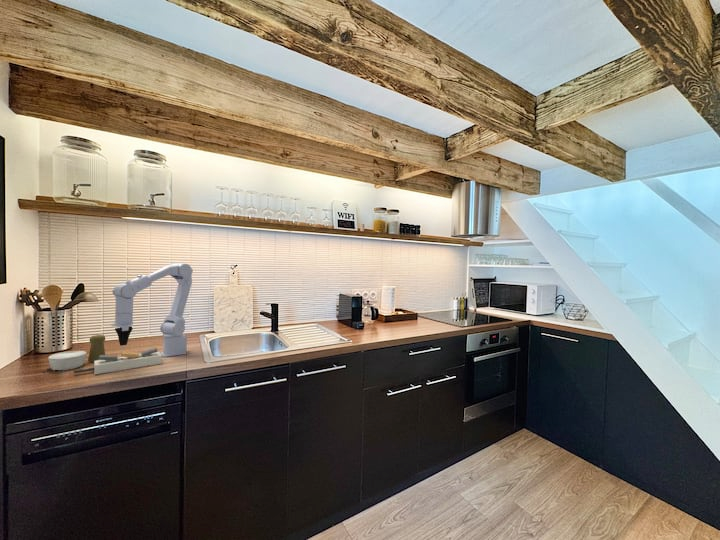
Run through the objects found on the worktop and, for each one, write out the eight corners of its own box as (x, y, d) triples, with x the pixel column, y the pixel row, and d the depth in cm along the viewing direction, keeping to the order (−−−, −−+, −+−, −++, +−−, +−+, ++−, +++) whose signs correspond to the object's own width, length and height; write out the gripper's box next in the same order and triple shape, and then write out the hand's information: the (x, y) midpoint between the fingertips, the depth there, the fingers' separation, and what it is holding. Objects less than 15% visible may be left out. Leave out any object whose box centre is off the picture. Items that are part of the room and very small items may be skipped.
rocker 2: (156, 350, 132) (156, 347, 131) (157, 351, 129) (157, 349, 129) (141, 354, 128) (140, 352, 128) (142, 356, 126) (141, 354, 125)
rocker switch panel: (159, 359, 134) (159, 350, 134) (161, 363, 129) (162, 353, 129) (74, 372, 115) (74, 361, 115) (73, 377, 110) (73, 366, 110)
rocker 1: (116, 358, 122) (117, 355, 122) (116, 360, 120) (117, 357, 120) (98, 358, 118) (99, 355, 119) (99, 360, 116) (100, 356, 116)
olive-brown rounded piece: (104, 357, 134) (105, 333, 134) (107, 360, 130) (108, 335, 130) (86, 360, 129) (87, 335, 129) (88, 363, 125) (89, 337, 125)
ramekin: (83, 360, 129) (84, 348, 128) (88, 367, 121) (88, 354, 121) (46, 366, 120) (46, 354, 120) (49, 374, 113) (49, 360, 113)
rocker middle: (137, 355, 127) (138, 352, 127) (138, 357, 125) (139, 354, 125) (121, 355, 123) (122, 352, 123) (121, 356, 121) (122, 353, 121)
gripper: (110, 310, 125) (109, 342, 125) (112, 316, 114) (111, 350, 114) (131, 309, 130) (130, 340, 130) (135, 314, 119) (134, 347, 119)
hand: (123, 344), depth 122 cm, fingers closed
